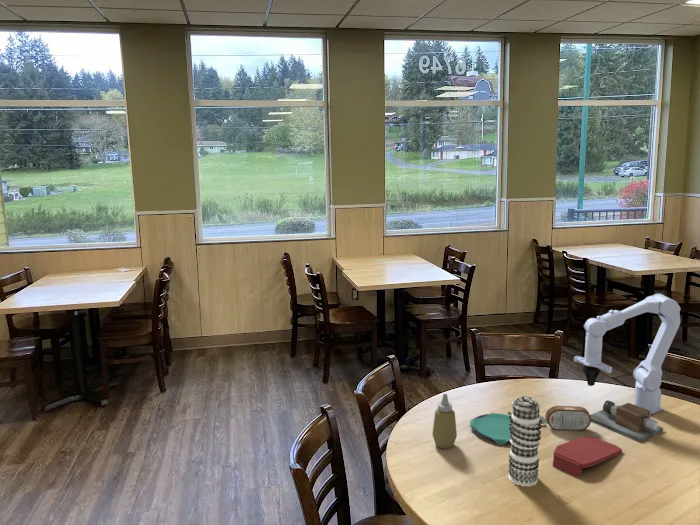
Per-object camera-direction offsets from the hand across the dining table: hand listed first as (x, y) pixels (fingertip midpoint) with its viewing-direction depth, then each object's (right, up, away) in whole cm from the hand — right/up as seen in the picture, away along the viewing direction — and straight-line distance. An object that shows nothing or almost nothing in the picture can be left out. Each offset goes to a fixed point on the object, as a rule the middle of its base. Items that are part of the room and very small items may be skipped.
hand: (591, 385), depth 207 cm
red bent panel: (-16, -16, -32) cm, 40 cm away
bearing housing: (+6, -12, -12) cm, 18 cm away
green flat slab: (-34, -13, -12) cm, 38 cm away
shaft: (+8, -10, -14) cm, 19 cm away
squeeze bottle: (-59, -15, -23) cm, 65 cm away
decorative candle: (-39, -18, -43) cm, 61 cm away
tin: (-14, -13, -14) cm, 24 cm away
